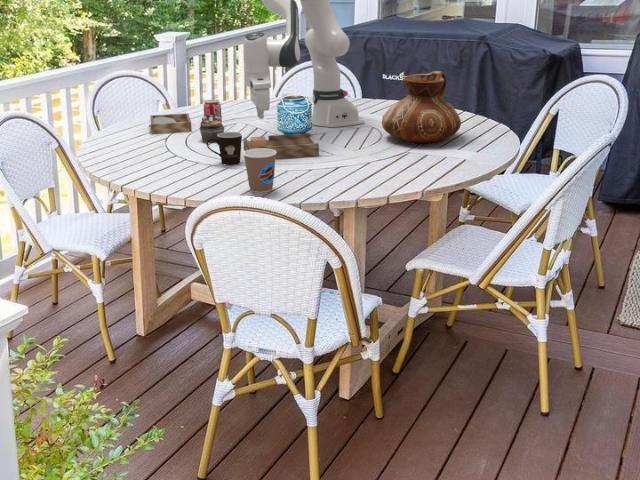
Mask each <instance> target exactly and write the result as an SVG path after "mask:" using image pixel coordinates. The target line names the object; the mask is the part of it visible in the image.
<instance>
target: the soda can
mask: <svg viewBox="0 0 640 480" xmlns="http://www.w3.org/2000/svg"><path fill="white" fill-rule="evenodd" d="M221 105H222V104H221V103H220V100H219V99H206V100H205V101H204V103H203V117H204V116H207V115H210V114H212V115H213V116H215V115H218V116H219V117H221V119H220V121H221V122H222V123H223V121H222V120H223V119H222V117H223V116H222V106H221Z"/></svg>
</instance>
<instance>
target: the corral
mask: <svg viewBox="0 0 640 480" xmlns="http://www.w3.org/2000/svg"><path fill="white" fill-rule="evenodd" d="M149 117H150V129H151V130H150V131H151V135H161V134H162V135H165V134H178V133H191V132H192V121H191V117H190V115H189V113H186V112H185V113H171V114H169V113H168V114H154V115H152V114H151V115H149ZM156 117H166V118H172V119H174V120H175V121H176V123H160V124H153V119H154V118H156Z"/></svg>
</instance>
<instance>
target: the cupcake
mask: <svg viewBox="0 0 640 480" xmlns="http://www.w3.org/2000/svg"><path fill="white" fill-rule="evenodd" d="M220 119H221V117H219V116H218V115H215V116H213V115H212V114H210V115H207V116H204V115H203V116H202V117H201V122H200V123H199V124H200V125H199V132H200V136H201V140H202V142H203V143H206V142H207V141H208V140H210V139H215V140H218V138H217V135H218V134H220V133H224V132H225V126H224V125H223V121H222V122H221V121H220ZM214 143H215V141H210V142H209V143H208V144H214ZM215 144H216V143H215Z"/></svg>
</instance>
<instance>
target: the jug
mask: <svg viewBox="0 0 640 480" xmlns="http://www.w3.org/2000/svg"><path fill="white" fill-rule="evenodd" d="M402 80H403V82H404V84H405V87H406V89H407V92H408V94H407V95H406V97H404V98H402V99H400V100H398V101H397V102H394V103H393V104H392V105H390V107H389V108H388V109H387V111H386V112H385V113H384V115H383V116H382V121H381V125H382V126H381V127H382V128H383V130H384V131H385V132H386V133H388V134H389V135H390V136H391V137H393V138H395V139H397V140H399V142H402V143H406V144H411V145H420V146H421V145H422V146H423V145H425V146H426V145H436V144H440V143H443V142H445V141H446V140H448V139H450V138H452V137H453V136H454V135H455V134H456V133H458V131H459V130H460V129H461V124H462V121H461V118H460V116H459V114H458V112H457V110H456V109H455V107H454V106H453V105H452V104H451V103H450V102H448V101H446V100H445V98H444V95H445V91H446V89H447V86H448V85H447V83H448V79H447V75H446V72H443V71H440V70H439V71H438V70H437V71H436V70H433V71H432V72H429V73H417V74H409V75H406V76H404V77H403V78H402Z"/></svg>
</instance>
